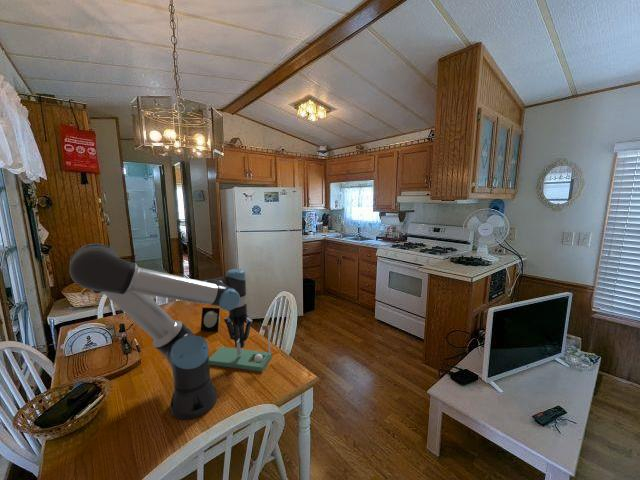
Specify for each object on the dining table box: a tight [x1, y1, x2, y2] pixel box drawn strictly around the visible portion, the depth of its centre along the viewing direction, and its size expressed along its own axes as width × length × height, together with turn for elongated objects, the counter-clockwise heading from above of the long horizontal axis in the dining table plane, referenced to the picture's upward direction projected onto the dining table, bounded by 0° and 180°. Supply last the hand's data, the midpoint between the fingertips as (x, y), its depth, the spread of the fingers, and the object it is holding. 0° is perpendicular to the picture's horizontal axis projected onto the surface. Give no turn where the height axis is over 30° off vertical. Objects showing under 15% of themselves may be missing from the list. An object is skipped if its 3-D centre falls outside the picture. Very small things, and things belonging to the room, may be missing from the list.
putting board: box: [209, 325, 273, 373], centre depth 122 cm, size 11×26×16 cm, turn 79°
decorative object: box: [200, 307, 221, 333], centre depth 153 cm, size 13×10×10 cm
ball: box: [253, 354, 263, 363], centre depth 122 cm, size 4×4×4 cm
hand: (240, 353), depth 123 cm, fingers closed
